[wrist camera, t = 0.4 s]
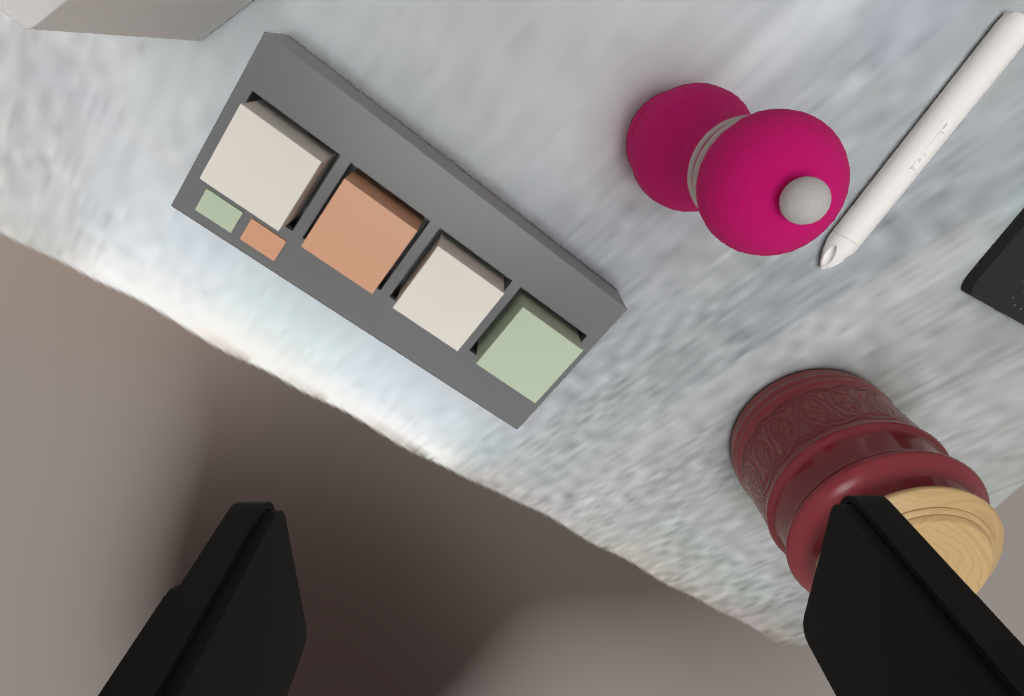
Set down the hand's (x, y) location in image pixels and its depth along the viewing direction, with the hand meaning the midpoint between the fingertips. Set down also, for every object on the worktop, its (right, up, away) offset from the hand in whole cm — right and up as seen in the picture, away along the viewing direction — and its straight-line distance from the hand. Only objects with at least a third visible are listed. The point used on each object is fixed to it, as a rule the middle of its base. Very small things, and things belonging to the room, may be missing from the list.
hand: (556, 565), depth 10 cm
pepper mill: (+10, +18, +30) cm, 36 cm away
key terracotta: (-10, +12, +29) cm, 33 cm away
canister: (+24, -3, +40) cm, 46 cm away
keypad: (-7, +11, +32) cm, 35 cm away
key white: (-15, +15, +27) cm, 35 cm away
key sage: (0, +5, +33) cm, 33 cm away
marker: (+26, +17, +31) cm, 44 cm away
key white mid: (-5, +8, +31) cm, 32 cm away
